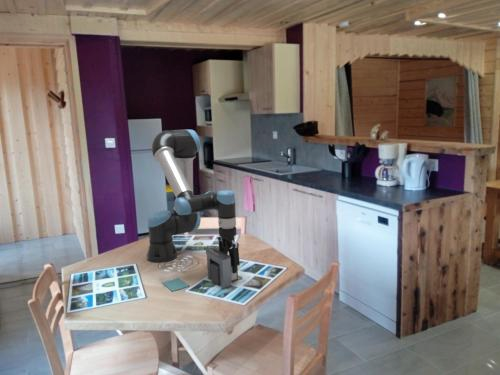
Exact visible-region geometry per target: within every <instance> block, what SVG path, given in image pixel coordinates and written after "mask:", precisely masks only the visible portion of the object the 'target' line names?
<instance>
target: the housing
mask: <svg viewBox="0 0 500 375" xmlns="http://www.w3.org/2000/svg"><path fill="white" fill-rule="evenodd" d="M209 250H210V251H209ZM209 250H206V251H207V254H206V267H207V268H206V269H207V279H208V280H211V267H210V264H213V263H216V262H217V263H218V264H219V265H220V287H221V288H223V289H226V288H230V287H232V285H233V284H232V282H231V259H230V256H229V254H228V255H227V254H225V253H223V252H221V251H219V250H218V249H216V248H213V250H211V249H209ZM206 251H205V252H206Z"/></svg>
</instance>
